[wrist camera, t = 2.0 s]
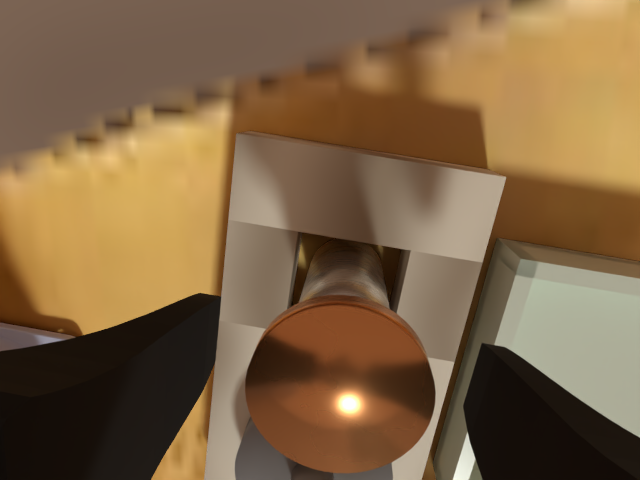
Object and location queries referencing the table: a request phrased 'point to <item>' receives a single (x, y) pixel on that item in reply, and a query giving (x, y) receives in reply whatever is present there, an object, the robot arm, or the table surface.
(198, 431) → the table surface
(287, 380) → the pin
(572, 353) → the tray
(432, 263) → the white holder block
